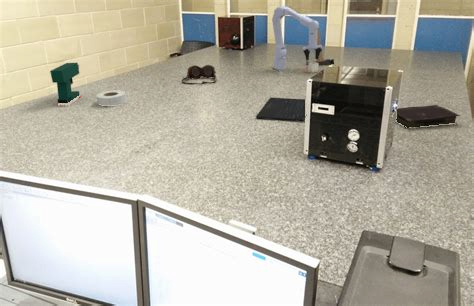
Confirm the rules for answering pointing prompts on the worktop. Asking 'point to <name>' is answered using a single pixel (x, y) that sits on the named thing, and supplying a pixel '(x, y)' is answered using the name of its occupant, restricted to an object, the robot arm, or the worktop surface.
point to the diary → (425, 116)
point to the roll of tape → (111, 97)
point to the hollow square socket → (313, 67)
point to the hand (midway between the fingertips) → (312, 59)
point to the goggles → (200, 73)
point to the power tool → (65, 81)
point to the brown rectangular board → (306, 70)
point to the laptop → (283, 109)
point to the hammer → (320, 58)
